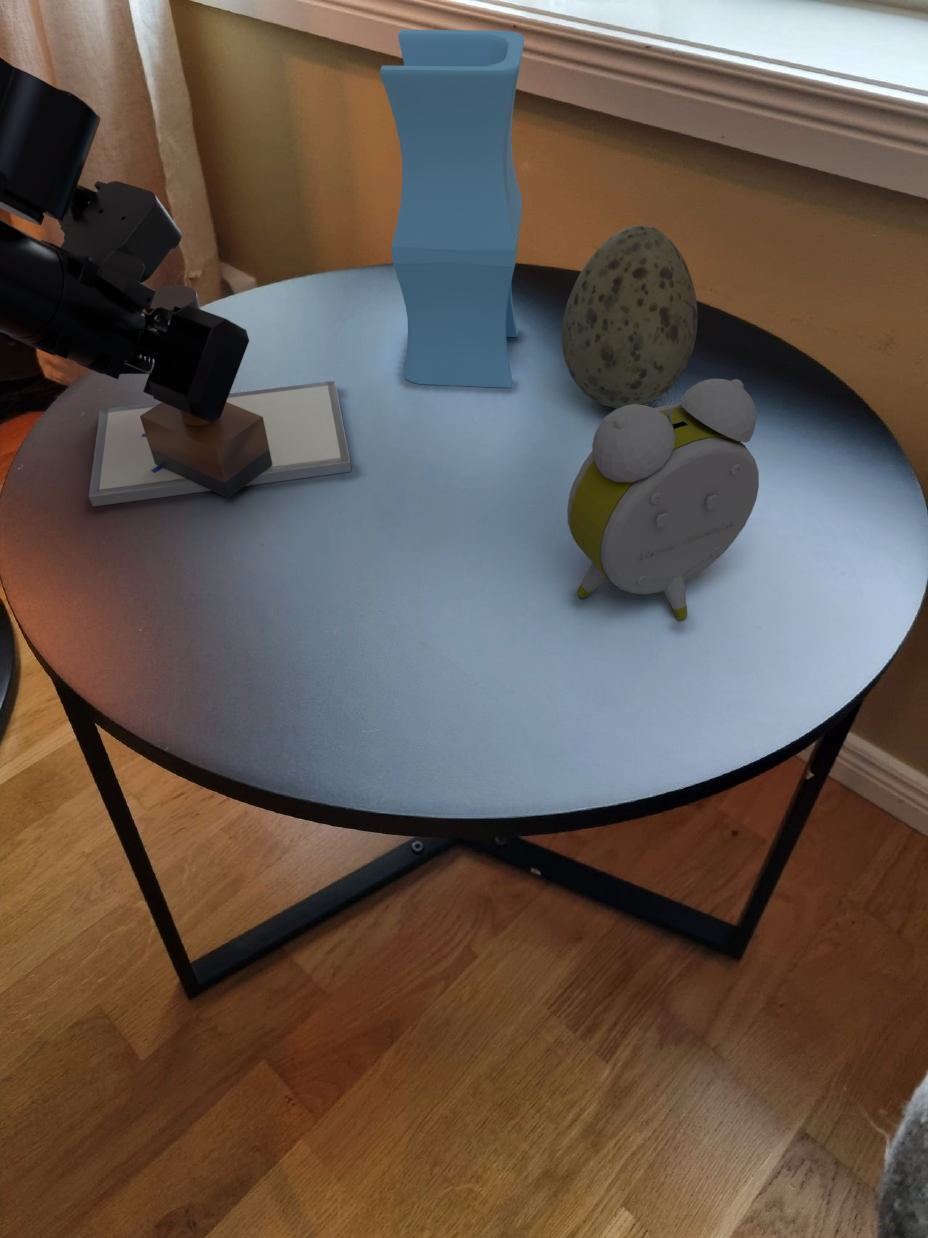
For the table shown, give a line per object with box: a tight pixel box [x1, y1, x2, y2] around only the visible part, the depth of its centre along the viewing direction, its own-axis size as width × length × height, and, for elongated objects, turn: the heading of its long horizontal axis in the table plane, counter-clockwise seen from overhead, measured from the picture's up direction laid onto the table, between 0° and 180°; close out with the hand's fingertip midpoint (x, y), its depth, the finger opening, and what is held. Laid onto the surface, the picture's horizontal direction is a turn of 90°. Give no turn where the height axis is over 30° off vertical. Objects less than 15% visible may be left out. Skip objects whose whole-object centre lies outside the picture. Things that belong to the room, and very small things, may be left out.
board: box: [88, 380, 352, 507], centre depth 76 cm, size 20×12×1 cm, turn 101°
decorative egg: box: [561, 224, 698, 410], centre depth 74 cm, size 11×11×15 cm
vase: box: [379, 29, 525, 389], centre depth 76 cm, size 10×10×25 cm
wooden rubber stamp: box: [140, 284, 272, 499], centre depth 67 cm, size 5×8×14 cm, turn 56°
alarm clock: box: [566, 378, 760, 620], centre depth 58 cm, size 12×7×15 cm, turn 117°
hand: (205, 372), depth 68 cm, fingers closed on wooden rubber stamp, 3 cm apart
